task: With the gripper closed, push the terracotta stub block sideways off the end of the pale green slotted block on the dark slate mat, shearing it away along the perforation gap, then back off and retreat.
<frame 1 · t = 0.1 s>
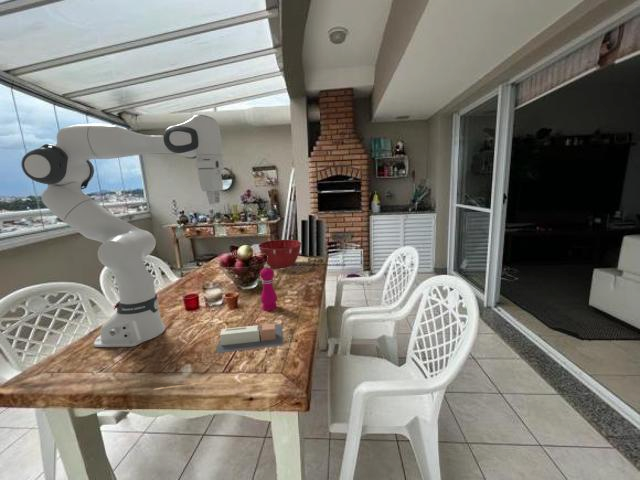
hand: (214, 203, 104), 48 cm above the table, fingers open, 8 cm apart
mixing bowl: (281, 266, 193), on the table
slate mat: (251, 338, 102), on the table
pale green slotted block: (241, 340, 101), resting on slate mat
stub: (268, 331, 102), point 3 cm above the table, slide at 0.0 cm
pepper mill: (269, 308, 127), on the table
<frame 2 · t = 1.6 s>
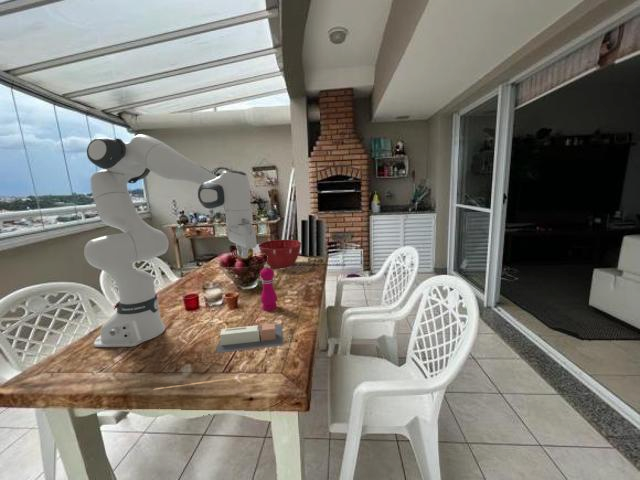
hand: (243, 256, 101), 29 cm above the table, fingers open, 3 cm apart
nothing on the table moved.
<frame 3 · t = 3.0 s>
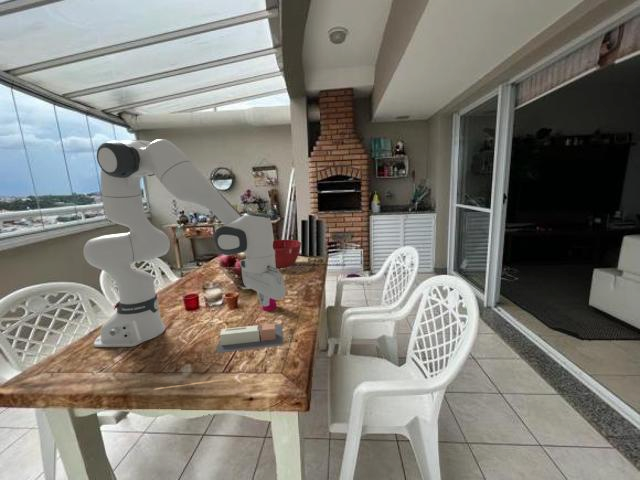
hand: (264, 305, 92), 16 cm above the table, fingers closed
nothing on the table moved.
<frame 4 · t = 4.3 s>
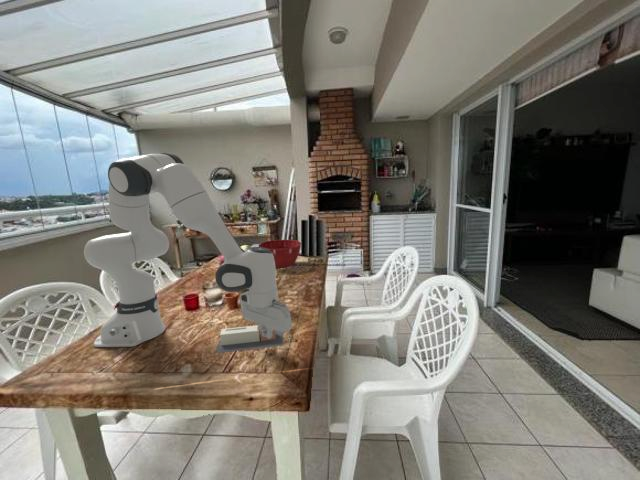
hand: (267, 336, 94), 5 cm above the table, fingers closed
nothing on the table moved.
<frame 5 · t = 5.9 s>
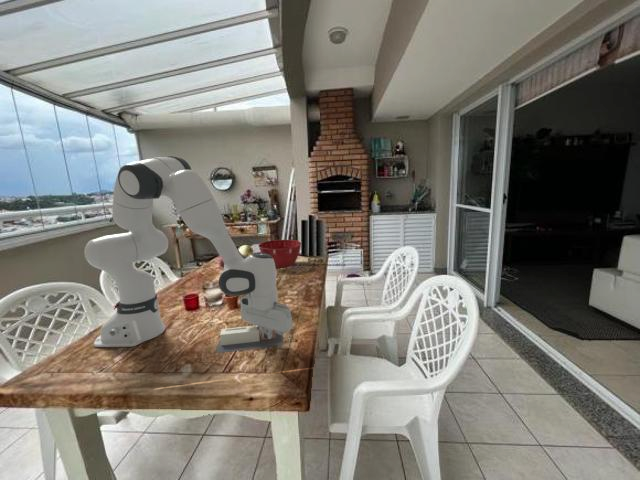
hand: (267, 337, 99), 2 cm above the table, fingers closed
stub: (268, 330, 102), point 3 cm above the table, slide at 0.7 cm, touching gripper
everything else where it was.
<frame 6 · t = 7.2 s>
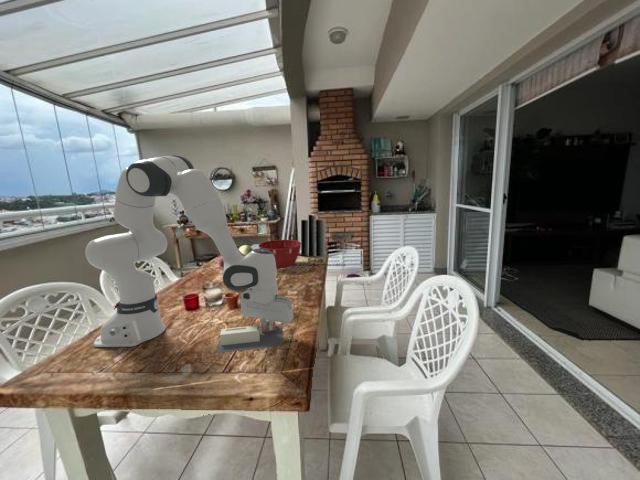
hand: (268, 329, 104), 2 cm above the table, fingers closed
stub: (268, 323, 107), point 3 cm above the table, slide at 6.1 cm, touching gripper
everything else where it was.
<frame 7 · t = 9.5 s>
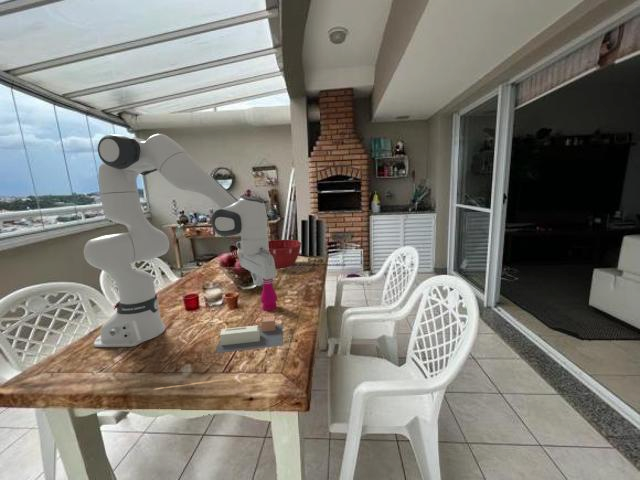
hand: (257, 284, 99), 20 cm above the table, fingers closed
stub: (268, 323, 107), point 3 cm above the table, slide at 6.1 cm
everything else where it was.
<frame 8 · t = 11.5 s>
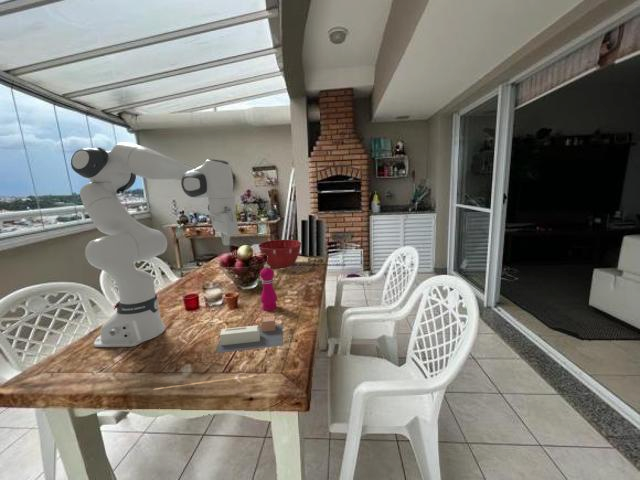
hand: (226, 244, 103), 33 cm above the table, fingers closed
nothing on the table moved.
at the end: stub slide at 6.1 cm; stub touching nothing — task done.
